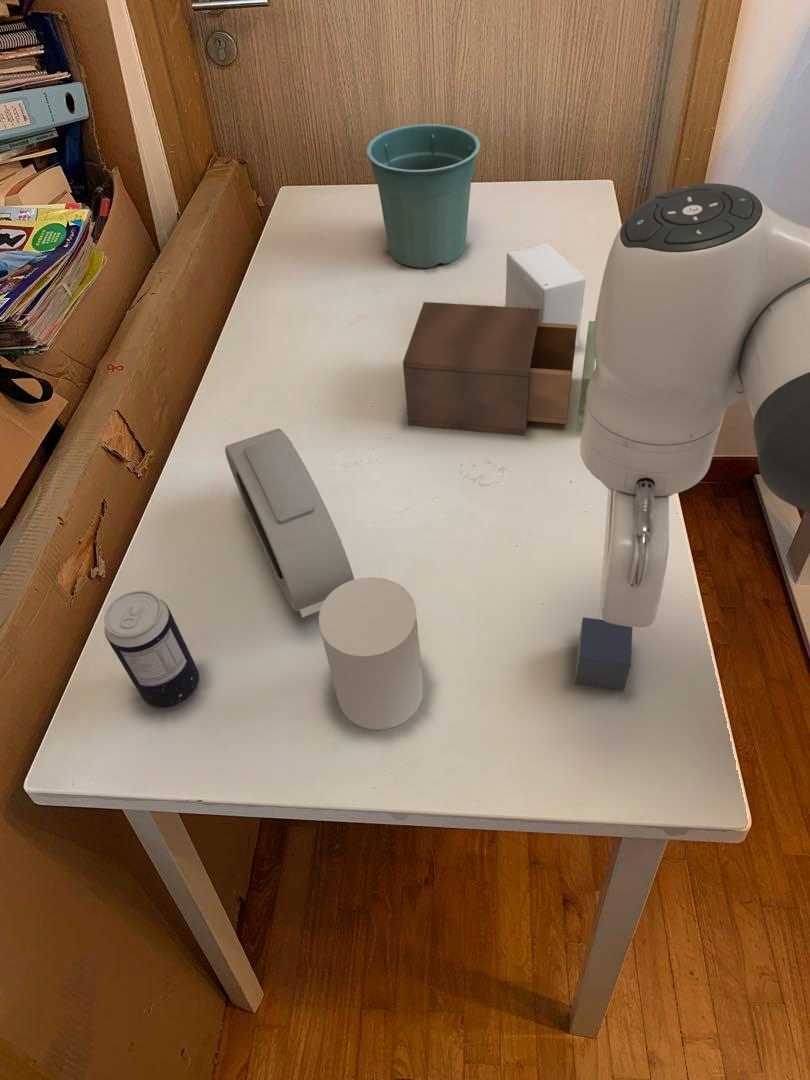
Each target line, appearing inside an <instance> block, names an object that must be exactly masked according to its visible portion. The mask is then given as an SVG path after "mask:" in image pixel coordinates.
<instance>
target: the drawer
mask: <svg viewBox="0 0 810 1080" xmlns="http://www.w3.org/2000/svg"><path fill="white" fill-rule="evenodd" d="M594 326H595V320H588V326H587V332H586V343H585V350H584V358H583V367H582V368H583V369H582V375H581V376H582V378H581V386H580V393H579V403H578V412H577V421H576V429H575V431H577V432H582V426H583V416H584V408H585V401H586V392H587V387H588V384H589V381H590V379H591V376H592V374H593V373H594V371H595V366H596V358H595V354H594V349H593V333H594ZM576 333H577V325H572V324H556V323H540V322H539V323H538V328H537V334H536V339H535V344H534V350H533V355H532V361H531V366H530V372H529V389H528V407H527V421H528V422H535V423H549V424H558V425H559V424H560V425H566V424H567V420H568V411H569V403H570V396H571V395H570V394H571V387H572V379H573V372H574V371H573V370H574V362H575V354H576V353H575V352H576V348H575V343H576Z"/></svg>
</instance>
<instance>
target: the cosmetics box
mask: <svg viewBox="0 0 810 1080" xmlns="http://www.w3.org/2000/svg"><path fill="white" fill-rule="evenodd" d="M505 277H506V279H505V303H504V305H505V306H504V307H518V308H535V309H540V323H556V324H572V325H577V333H576V343H575V349H577V348H578V347H579V340H580V331H581V321H582V315H583V305H584V299H585V291H586V282H587V278H586V277H585V276H584V275H583V274H582V273H581V272H579V271H578V270H577V268H575V266H573V265H572V264H571V263H570V262H568V260H566V258H564V257H563V256H562V255H561V254H560V253H559V252H558V251H557V250H555V248H554V247H552V246H551V245H550V244H549V243H548V242H546V243H541V244H538V245H537V244H536V245H533V246H528V247H526V248H521V249H517V250H513V251H508V252H507V254H506V276H505Z"/></svg>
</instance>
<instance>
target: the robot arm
mask: <svg viewBox="0 0 810 1080" xmlns="http://www.w3.org/2000/svg"><path fill="white" fill-rule="evenodd" d="M596 305H597V306H596V312H595V320H594V321H595V326H594V333H593V349H594V354H595V367H594V373H593V374H592V376H591V379H590V381H589V384H588V387H587V392H586V401H585V408H584V416H583V426H582V431H581V433H580V434H581V435H580V443H579V453H580V458H581V460H582V462H583V464H584V466H585V468H586V469H587V470H588V471H589V473H590V474H591V475H592V476H593V477H594V478H595V479H597V480H598V481H600V483H602V485H604V487H606V489H607V500H606V501H607V502H606V513H605V528H604V529H605V530H604V543H603V559H602V573H601V589H600V601H599V615H600V617H601V620H604V621H606V622H608V623H611V624H615V625H621V626H628V627H633V628H648V627H650V626H652V625H653V624H654V622H655V620H656V617H657V613H658V608H659V604H660V601H661V597H662V596H661V595H662V591H663V585H664V581H665V575H666V571H667V566H668V556H669V547H670V497H671V496H673V495H675V494H680V493H682V492H685V491H687V490H689V489H690V488H693V487H694V486H696V485H697V484H698V483H699V482H701V481H702V479H704V478H705V476H706V475H707V473H708V471H709V469H710V467H711V463H712V460H713V457H714V454H715V451H716V446H717V443H718V438H719V436H720V432H721V428H722V424H723V421H724V418H725V415H726V411H727V410H728V409H729V407H731V406H733V404H736V403H741V402H743V403H744V402H745V403H748V406H749V407H748V408H749V410H750V414H751V417H752V420H753V425H752V427H753V435H754V442H755V449H756V450H755V451H756V456H757V457H756V458H757V463H758V469H759V474H760V477H761V479H762V482H763V483H764V484H765V487H767V489H768V490H769V491H770V492H771V493H772V494H773V495H774V496H776V497H777V498H778V499H780V500H782V501H783V502H785V503H787V504H789V505H791V506H792V507H795V508H796V509H799V510H801V511H803V512H806V513H809V514H810V227H806V226H804V225H801V224H798V223H795V222H793V221H791V220H789V219H787V218H785V217H783V216H781V215H779V214H778V213H776V212H774V211H773V210H772V209H770V208H769V207H768V206H767V205H766V204H765V203H764V202H763V201H762V199H760V198H759V196H757V194H755V193H753V192H752V191H750V190H747V189H745V188H744V187H743V188H742V187H739V186H736V185H731V184H726V183H725V184H724V183H710V182H709V183H708V182H707V183H705V182H703V183H693V184H687V185H682V186H678V187H675V188H670V189H668V190H666V191H663V192H661V193H658V194H656V195H654V196H653V197H650V198H649V199H646V201H644V202H643V203H641V204H639V205H638V206H637V207H636V208H635V209H634V210H633V211H632V212H630V214H629V215H628V216H627V217H626V219H625V220H624V222H622V224H621V226H620V228H619V230H617V233H616V235H615V238H614V239H613V243H612V244H611V248H610V251H609V253H608V257H607V260H606V264H605V268H604V271H603V275H602V279H601V285H600V289H599V295H598V300H597V304H596Z"/></svg>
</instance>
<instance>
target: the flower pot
mask: <svg viewBox="0 0 810 1080" xmlns="http://www.w3.org/2000/svg"><path fill="white" fill-rule="evenodd" d="M480 148H481V142H480V140H479V138H478V137H477V136H476V134H474V133H472V132H470V131H469V130H467V129H464V128H460V127H457V126H454V125H447V124H440V123H419V124H409V125H408V124H407V125H403V126H398V127H395V128H391V129H389V130H386V131H384V132H382V133H379V134H378V135H377V136H375V137H374V138H373V139H371V140H370V142H369V143H368V144H367V146H366V156H367V158H368V161H370V162H371V166H372V172H373V177H374V181H375V183H376V184H377V189H378V193H379V200H380V206H381V211H382V217H383V224H384V231H385V236H386V242H387V248H388V252H389V253H390V254H391V256H392V258H393V260H394V261H396V262H398V263H400V264H402V265H405V266H408V267H412V268H424V269H425V268H426V269H427V268H434V267H435V266H436V265H438V264H443V265H447V264H450V263H452V262H455V260H457V259H459V258H460V256H461V255H463V253H464V251H465V248H466V241H467V240H466V239H467V230H468V228H467V227H468V218H469V208H470V199H471V197H470V196H471V187H472V179H473V177H474V174H475V167H476V165H475V164H476V157H477V156H478V154H479V151H480Z"/></svg>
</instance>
